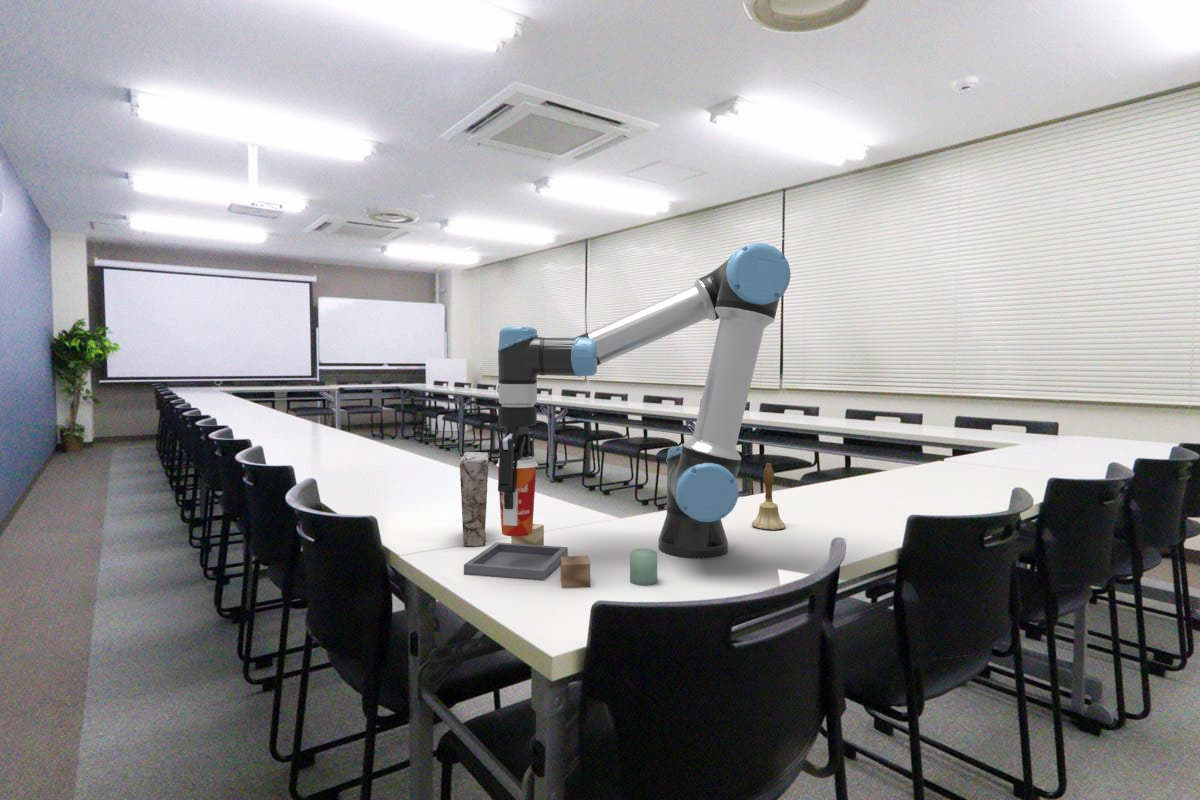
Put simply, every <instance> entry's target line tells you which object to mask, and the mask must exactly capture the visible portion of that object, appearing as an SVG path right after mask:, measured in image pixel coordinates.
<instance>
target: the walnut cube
mask: <svg viewBox="0 0 1200 800" xmlns="http://www.w3.org/2000/svg"><path fill="white" fill-rule="evenodd" d="M560 582H561V588H562V589H571V588H573V589H574V588H576V589H577V588H591V562H590V560H589V557H588V555H571V556H570V555H569V556H563V557H561V565H560Z"/></svg>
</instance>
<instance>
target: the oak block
mask: <svg viewBox="0 0 1200 800" xmlns="http://www.w3.org/2000/svg"><path fill="white" fill-rule="evenodd" d="M544 531H545V526H544V524H539V523H533V526H532V533H531V534H529V535H526V536H517V537H514V536H510V539H511V540H510V542H511V543H514V544H529V545H543V546H545V532H544Z"/></svg>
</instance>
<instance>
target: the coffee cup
mask: <svg viewBox="0 0 1200 800" xmlns="http://www.w3.org/2000/svg"><path fill="white" fill-rule="evenodd" d="M514 462H515V461H514ZM514 462H513V463H514ZM495 465H496V467H497V474H498V475H497V476H498V477H497V479H498V478H499V458H498V460H497V463H496V464H495ZM538 466H539V464H538V463H537V460H536V458H535V456H534V457H531V456H528V457H522V458H520V460H518V461H517V467H516V468H517V483H516V491H515V492H518V525H517V526H510V525H503V492H499V491H498V492H499V494H498V495H499V508H500V509H499V511H500V512H499V513H500V524H501V525H500V526H501V534H502V535H504V536H506V537H511V536H514V537H517V536H526V535H529V534H531V533H532V526H533V524H534V511H535V510H534V509H535V508H534V507H535V493H536V482H535V480H536V477H537V476H536V475H537V467H538ZM513 468H514V467H513Z"/></svg>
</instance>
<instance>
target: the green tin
mask: <svg viewBox="0 0 1200 800" xmlns="http://www.w3.org/2000/svg"><path fill="white" fill-rule="evenodd" d="M629 581H630V583H631V584H633V585H636V586H645V587H647V586H653V585H655V584H657V583H658V552H657V550H654V549H649V548H635V549H632V550H631V551H630V552H629Z"/></svg>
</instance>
